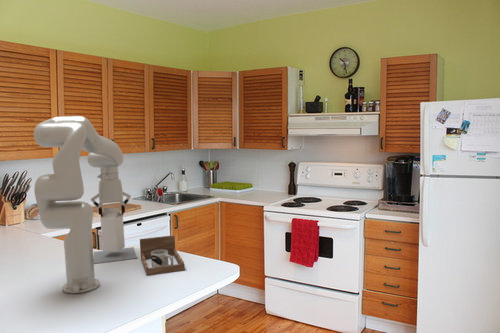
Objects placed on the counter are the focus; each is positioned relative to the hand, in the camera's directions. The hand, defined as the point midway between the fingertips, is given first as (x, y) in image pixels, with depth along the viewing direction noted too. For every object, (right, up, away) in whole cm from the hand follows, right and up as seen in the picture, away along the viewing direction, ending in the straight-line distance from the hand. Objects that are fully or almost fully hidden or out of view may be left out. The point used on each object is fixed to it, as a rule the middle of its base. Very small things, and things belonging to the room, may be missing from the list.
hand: (112, 215), depth 195 cm
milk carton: (0, -16, +2) cm, 16 cm away
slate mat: (+1, -19, +2) cm, 19 cm away
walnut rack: (+25, -19, -13) cm, 34 cm away
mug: (+27, -20, -18) cm, 38 cm away
